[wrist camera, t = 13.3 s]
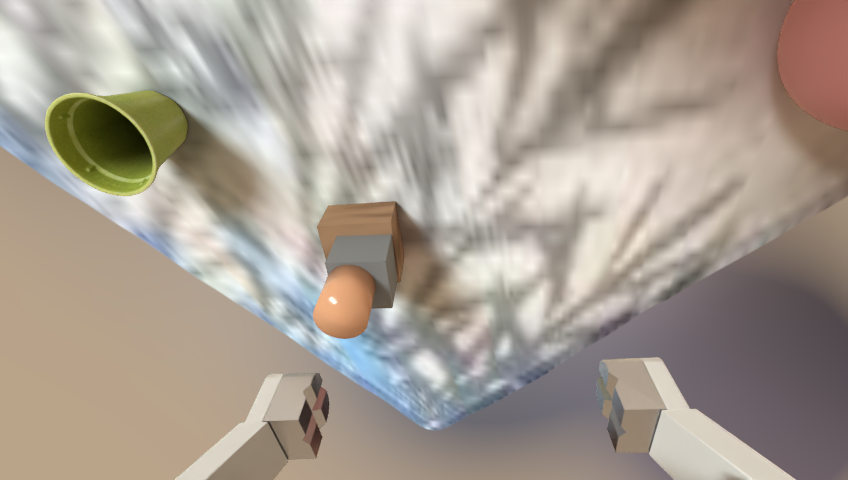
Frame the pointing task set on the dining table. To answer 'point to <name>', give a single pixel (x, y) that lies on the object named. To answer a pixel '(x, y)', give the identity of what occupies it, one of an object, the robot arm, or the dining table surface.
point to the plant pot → (115, 137)
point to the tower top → (368, 262)
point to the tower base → (362, 225)
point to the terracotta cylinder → (345, 302)
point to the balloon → (816, 59)
